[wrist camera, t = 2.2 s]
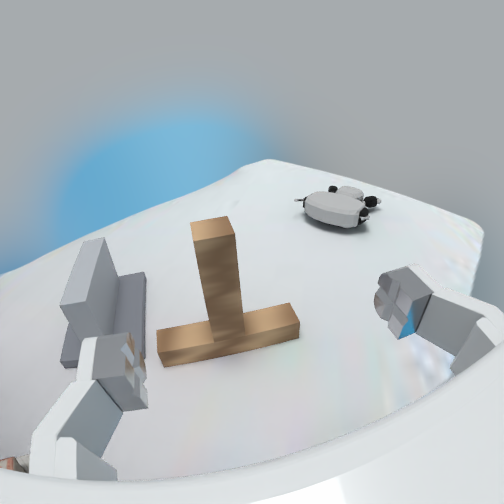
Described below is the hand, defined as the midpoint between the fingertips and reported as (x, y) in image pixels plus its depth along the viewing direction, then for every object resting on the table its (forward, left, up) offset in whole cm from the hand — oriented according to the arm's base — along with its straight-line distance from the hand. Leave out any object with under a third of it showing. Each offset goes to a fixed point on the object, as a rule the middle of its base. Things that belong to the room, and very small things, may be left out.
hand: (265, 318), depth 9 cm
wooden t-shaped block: (0, +14, -17) cm, 22 cm away
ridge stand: (-14, +21, -17) cm, 31 cm away
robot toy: (+25, +36, -18) cm, 47 cm away
